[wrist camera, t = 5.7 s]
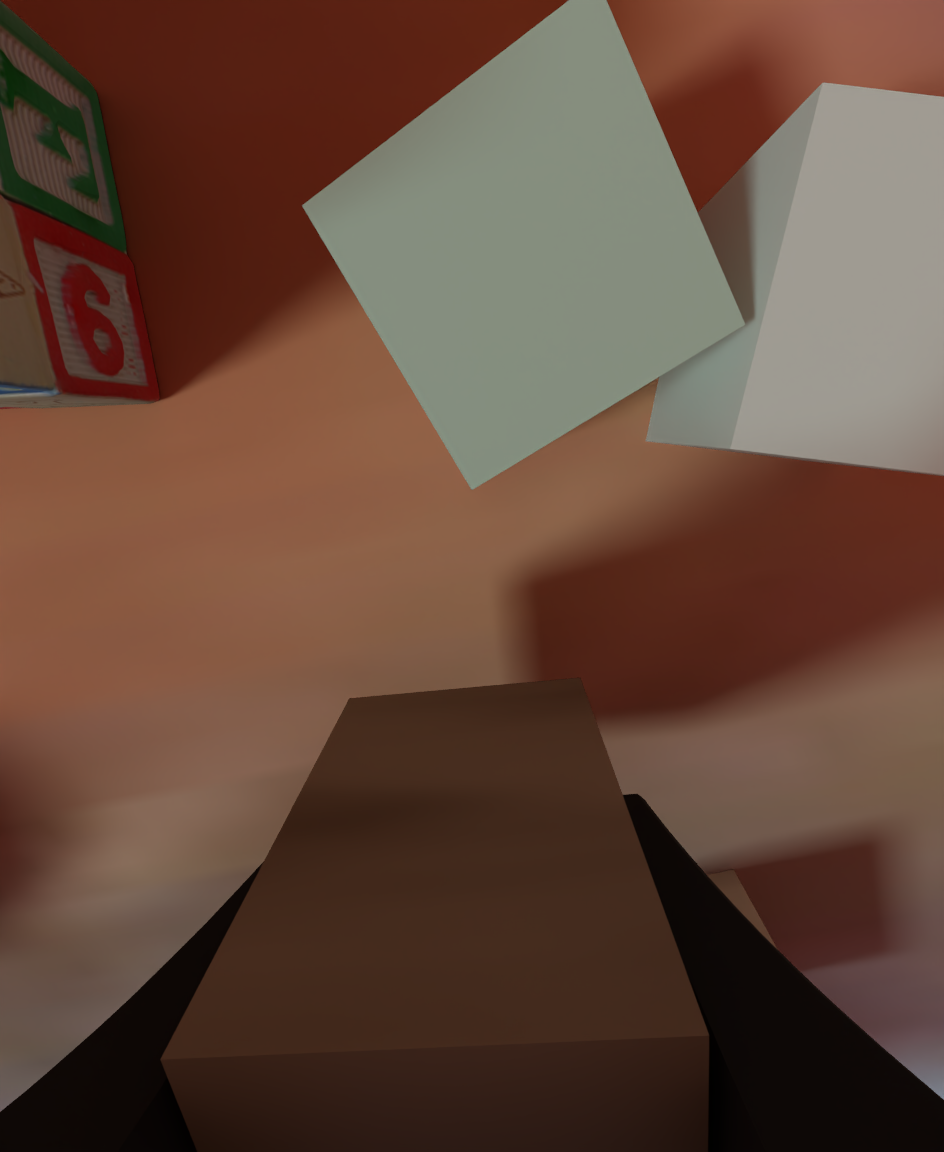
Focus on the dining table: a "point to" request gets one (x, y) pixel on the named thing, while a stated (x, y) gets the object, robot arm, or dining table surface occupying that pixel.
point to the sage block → (529, 245)
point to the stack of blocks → (62, 241)
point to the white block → (827, 293)
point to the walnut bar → (450, 951)
